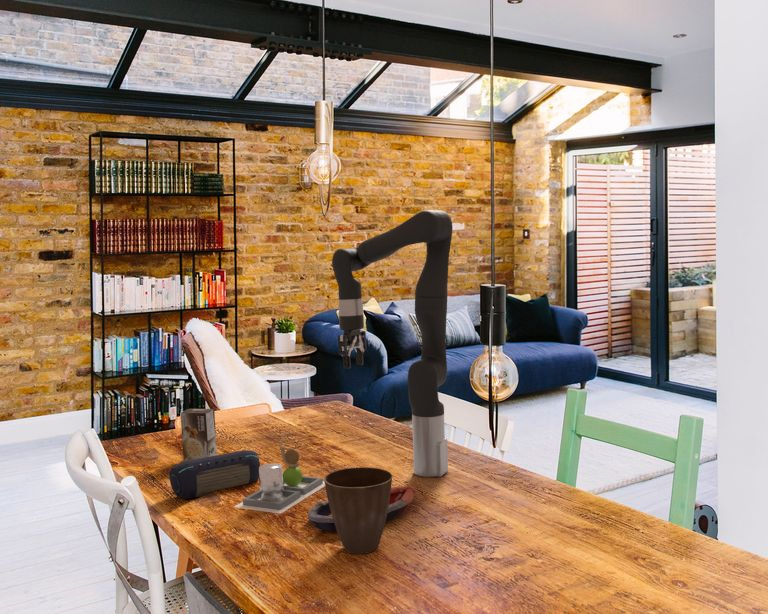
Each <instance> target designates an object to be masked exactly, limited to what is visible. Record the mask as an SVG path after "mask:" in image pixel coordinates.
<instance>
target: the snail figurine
mask: <svg viewBox="0 0 768 614" xmlns="http://www.w3.org/2000/svg"><path fill="white" fill-rule="evenodd" d="M278 443H279V445H280V446H279V450H280V455H281V457H282V458H281V459H282V461H283V463H284V464H285V466H287V467H286V468H285V469H283V481H284V483H285V484H286V485H288V486H297V485H298V484H299V483H300V482H301V481H302V478H303V476H304V475H303V472H302V469H301V468H300V467H299V466H300V463H298V462H299V460H300V454H299V452H298V451H297V450H296V448H291V447H290V448H288V449H287V450H285V449H286V447H285V446H284V445H282V444H283V440H281V441H279V442H278Z"/></svg>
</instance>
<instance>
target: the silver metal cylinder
mask: <svg viewBox="0 0 768 614" xmlns="http://www.w3.org/2000/svg"><path fill="white" fill-rule="evenodd" d="M283 468H284V467H283V465H282V464H281V463H276V462H274V463H271V462H270V463H266V464H264V463H263V464H262V465H261V464H260V467H259V478H258V481H259V483H258V484H259V490H260V500H264V501H272V502H280V501H282V500H283V499H284V491H283V472H284V469H283Z"/></svg>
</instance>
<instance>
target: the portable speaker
mask: <svg viewBox="0 0 768 614" xmlns="http://www.w3.org/2000/svg"><path fill="white" fill-rule="evenodd" d="M260 466H261V462H260V458H259V454H258V453H257V452H256V451H253V450H250V449H249V450H246V449H244V450H238V451H233V452H226V453H222V454H217V455H216V456H210V457H205V458H200V459H194V460H189V461H184V460H183V461H182V462H180V463H177V464H175V465H174V466H172V467H170V470H169V483H170V484H169V485H170V487H171V490H172V491H173V493H174V494H175V496H176V497H177V498H179V499H185V500H187V499H194V498H199V497H204V496H206V495H208V494H209V493H211V492H216V491H219V490H224V489H228V488H229V489H230V488H233V487H239V486H244V485H248V484H252V483H255V482H257V481H259V467H260Z"/></svg>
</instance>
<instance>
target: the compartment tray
mask: <svg viewBox="0 0 768 614" xmlns="http://www.w3.org/2000/svg"><path fill="white" fill-rule="evenodd" d="M324 487H325V482H324V478H323V477H316V476H307V475H303V478H302V481H301V482H300V483H299V484H298V485H297V486H288V485H286V484H285V483H284V481H283V491H284V499H283V500H282V501H280V502H272V501H264V500H260V489H259V490H257V491H255V492H253V493H251V494H249V495H247V496H246V497H244V498H242V501H241V502H240V503H238V504H236V505H234V506H233V508H237V509H238V508H239V509H244V510H253V511H258V512H265V513H267V512H268V513H274V514H283V513H284V512H286V511H288V510H289V509H291V508H292V507H294V506H296V505H298V503H300V502H302V501H303V500H305V499H306V498H308V497H310V496H311V495H313V494H315V493H316V492H318V491H319V490H321V489H323V488H324Z"/></svg>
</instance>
